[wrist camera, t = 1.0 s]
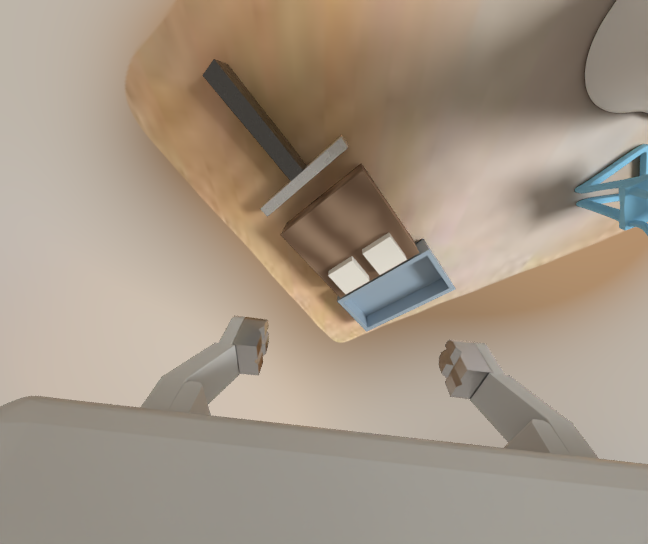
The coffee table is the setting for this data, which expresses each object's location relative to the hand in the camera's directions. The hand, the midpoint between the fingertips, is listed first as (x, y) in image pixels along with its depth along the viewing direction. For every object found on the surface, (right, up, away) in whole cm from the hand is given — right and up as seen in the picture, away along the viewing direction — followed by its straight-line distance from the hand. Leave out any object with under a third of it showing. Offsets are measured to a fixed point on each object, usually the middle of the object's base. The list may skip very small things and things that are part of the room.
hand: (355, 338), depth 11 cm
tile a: (+8, +6, +29) cm, 31 cm away
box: (+12, +1, +38) cm, 40 cm away
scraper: (-10, +25, +25) cm, 37 cm away
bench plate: (+3, +10, +33) cm, 35 cm away
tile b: (+3, +3, +32) cm, 32 cm away
